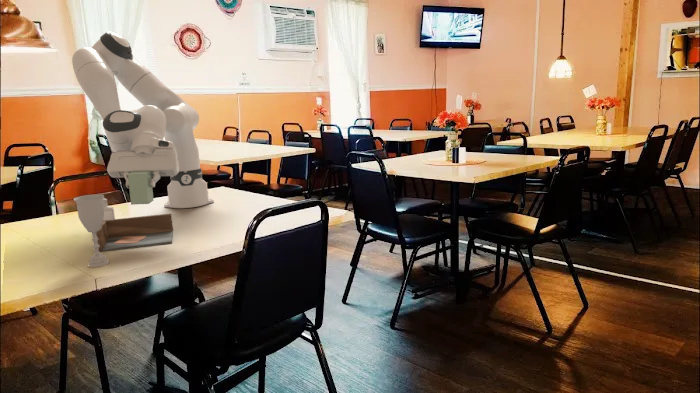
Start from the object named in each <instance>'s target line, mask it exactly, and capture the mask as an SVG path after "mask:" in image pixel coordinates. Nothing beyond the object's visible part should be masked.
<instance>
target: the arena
mask: <svg viewBox="0 0 700 393" xmlns="http://www.w3.org/2000/svg"><path fill="white" fill-rule="evenodd" d="M172 216H173V215H172V213H164V214H163V213H162V214H154V215H144V216H134V217H133V216H132V217H124V218H115V219H113V220H103V222H102V225H101V228H100V230H99V231H97V233H96V235H97V238H98V242H97V243H98V245H100V246H99V252H100V253H101V252H109V251H119V250H126V249H135V248H143V247H144V248H145V247H150V246H151V247H152V246H153V247H154V246H161V245H167V244H168V245H169V244H173V237H174V226H173V217H172Z"/></svg>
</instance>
